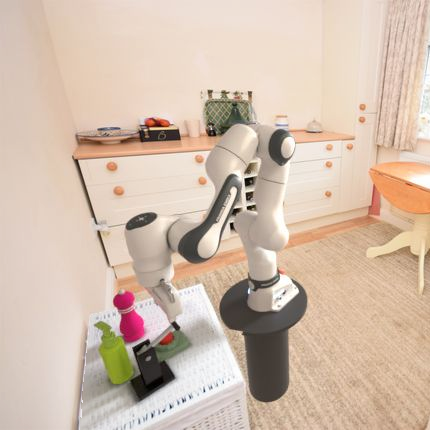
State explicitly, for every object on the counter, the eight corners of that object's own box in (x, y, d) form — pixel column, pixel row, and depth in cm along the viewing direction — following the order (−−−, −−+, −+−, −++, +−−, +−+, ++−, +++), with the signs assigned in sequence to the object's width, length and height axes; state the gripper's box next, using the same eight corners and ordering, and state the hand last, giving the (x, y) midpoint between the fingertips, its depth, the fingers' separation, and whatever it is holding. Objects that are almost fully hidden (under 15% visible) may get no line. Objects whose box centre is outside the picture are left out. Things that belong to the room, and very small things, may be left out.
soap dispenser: (123, 362, 93) (107, 314, 85) (137, 371, 91) (121, 323, 82) (104, 377, 88) (84, 328, 80) (118, 387, 86) (99, 337, 77)
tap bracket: (165, 362, 94) (156, 330, 88) (175, 378, 89) (167, 345, 83) (130, 383, 87) (118, 350, 81) (139, 401, 82) (127, 367, 77)
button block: (179, 332, 105) (177, 324, 103) (189, 345, 100) (187, 336, 99) (146, 350, 98) (144, 342, 96) (155, 365, 93) (153, 356, 91)
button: (170, 333, 100) (169, 329, 99) (175, 340, 98) (174, 336, 97) (157, 340, 97) (156, 336, 97) (162, 347, 95) (161, 343, 94)
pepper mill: (151, 329, 106) (138, 284, 98) (136, 344, 100) (121, 298, 91) (133, 325, 107) (120, 281, 99) (117, 341, 101) (101, 295, 92)
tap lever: (175, 320, 90) (170, 316, 89) (182, 328, 87) (177, 325, 86) (140, 353, 85) (134, 349, 83) (146, 363, 82) (140, 360, 80)
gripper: (184, 284, 73) (193, 325, 79) (153, 253, 86) (163, 290, 92) (157, 296, 69) (169, 338, 75) (129, 261, 81) (141, 300, 87)
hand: (165, 311), depth 83 cm, fingers open, 8 cm apart
